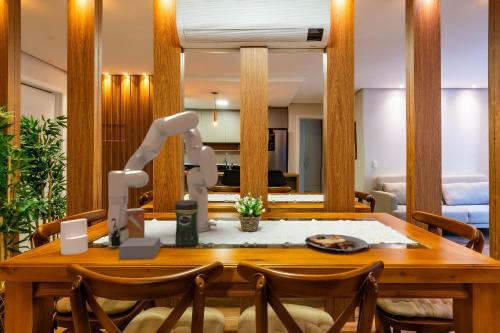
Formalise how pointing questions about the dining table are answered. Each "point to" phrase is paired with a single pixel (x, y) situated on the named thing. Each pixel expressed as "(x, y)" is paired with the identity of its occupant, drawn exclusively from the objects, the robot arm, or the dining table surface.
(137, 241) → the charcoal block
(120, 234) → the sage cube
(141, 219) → the small box
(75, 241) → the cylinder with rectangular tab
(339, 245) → the food plate
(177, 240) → the coffee jar
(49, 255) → the dining table surface
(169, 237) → the dining table surface
